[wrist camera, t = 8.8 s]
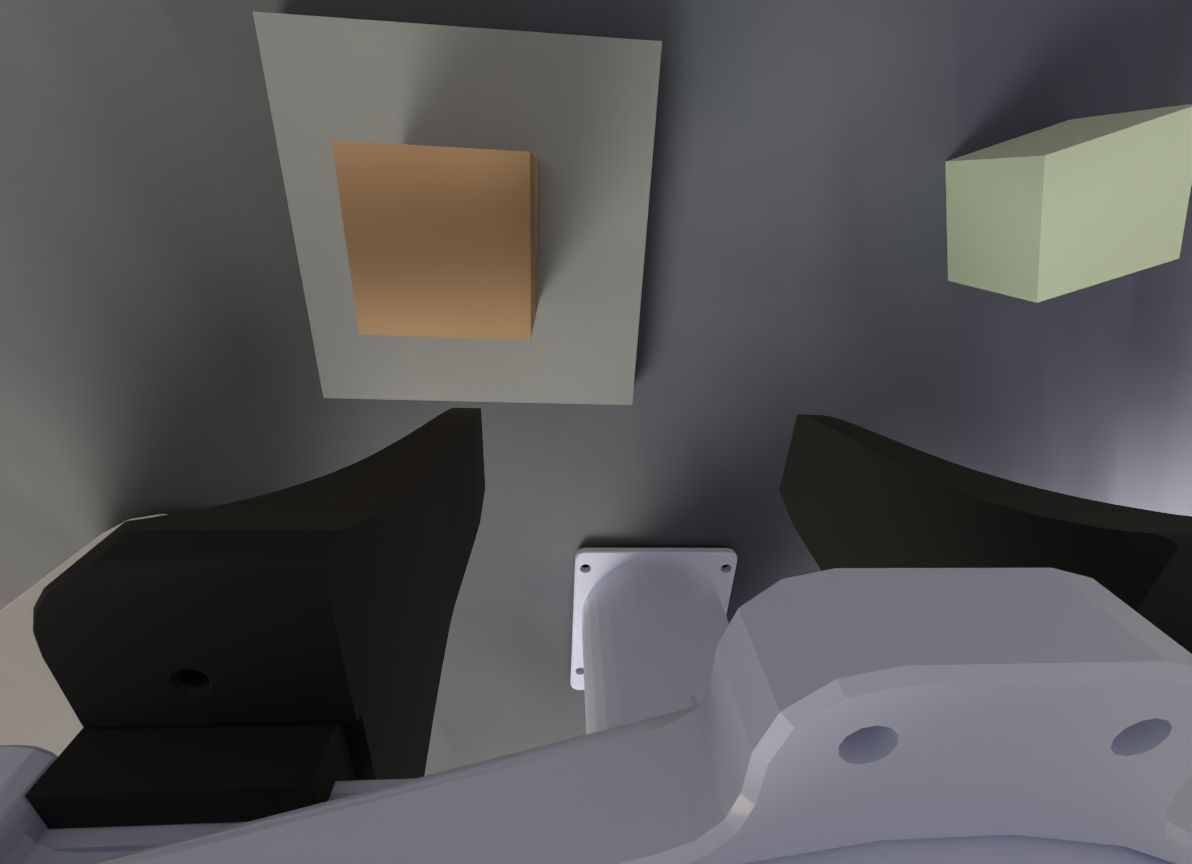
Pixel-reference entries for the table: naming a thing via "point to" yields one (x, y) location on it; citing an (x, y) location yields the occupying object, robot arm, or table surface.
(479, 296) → the walnut block
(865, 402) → the table surface
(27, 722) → the potion bottle
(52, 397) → the table surface
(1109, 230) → the pale green block
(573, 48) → the grey square tile
